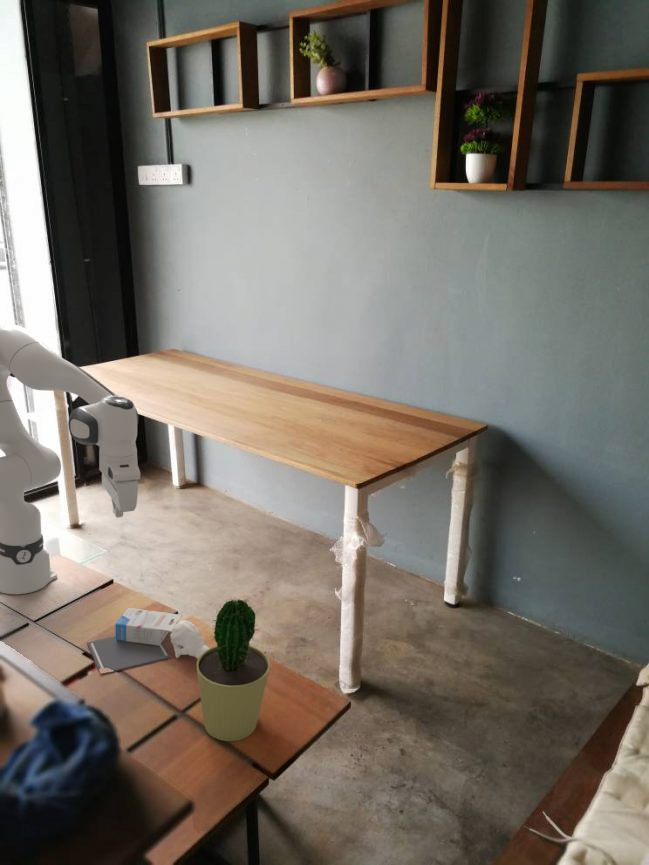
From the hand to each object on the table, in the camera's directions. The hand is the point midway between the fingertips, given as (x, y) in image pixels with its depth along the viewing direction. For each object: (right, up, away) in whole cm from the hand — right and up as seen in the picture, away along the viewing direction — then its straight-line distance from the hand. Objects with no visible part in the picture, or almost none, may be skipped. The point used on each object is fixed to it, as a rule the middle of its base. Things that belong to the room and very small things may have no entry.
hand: (118, 515), depth 173 cm
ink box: (-1, -29, +5) cm, 29 cm away
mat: (+3, -34, -1) cm, 34 cm away
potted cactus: (+31, -42, -24) cm, 58 cm away
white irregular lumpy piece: (+19, -35, -2) cm, 40 cm away
